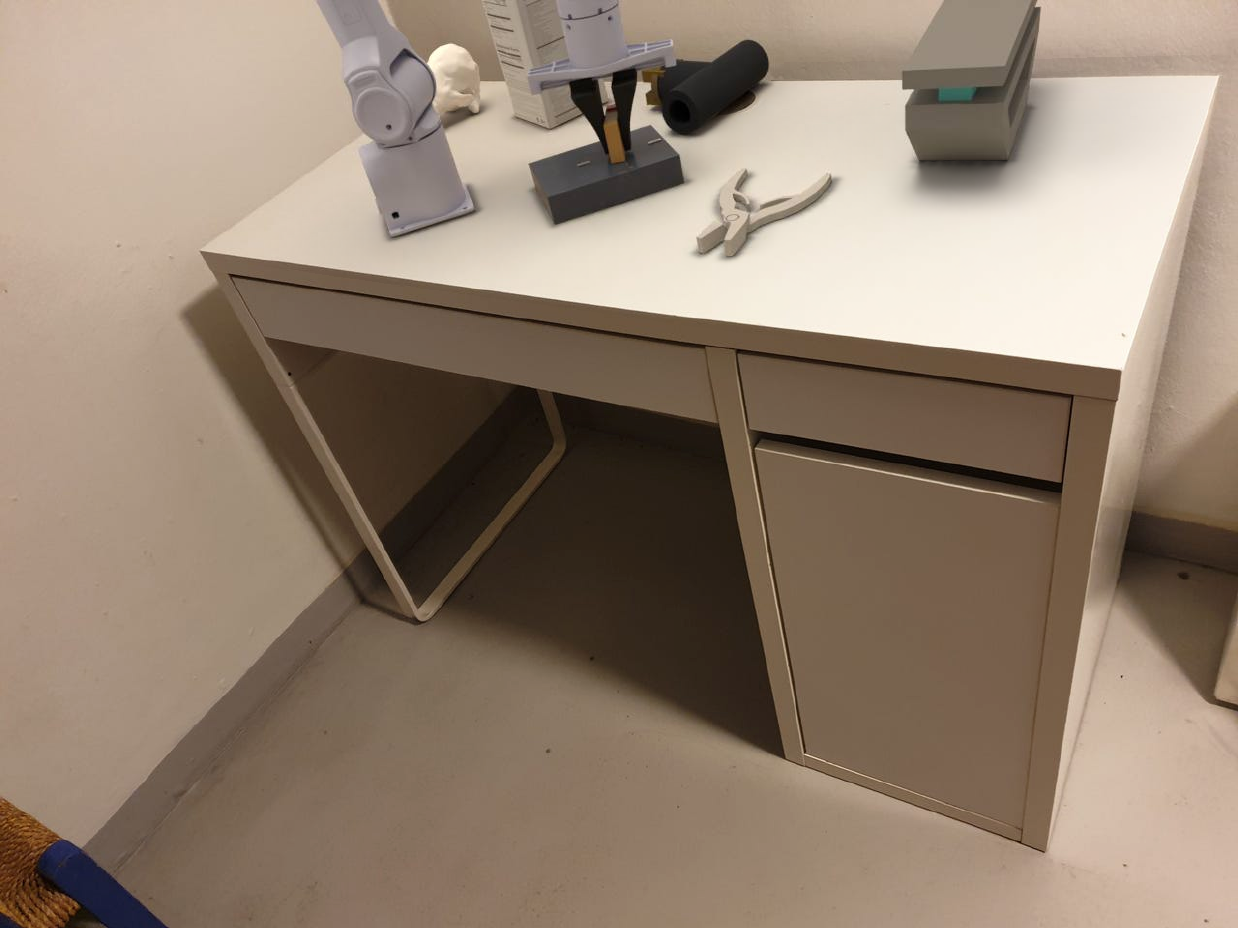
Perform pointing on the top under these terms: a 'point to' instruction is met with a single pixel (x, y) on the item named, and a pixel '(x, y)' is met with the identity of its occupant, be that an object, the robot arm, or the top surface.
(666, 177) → the dark slotted flat block
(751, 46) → the pipe connector
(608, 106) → the tan upright tile
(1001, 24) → the grey slotted box
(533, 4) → the supplement box
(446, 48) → the white lumpy rounded piece
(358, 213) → the top surface
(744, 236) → the pliers
